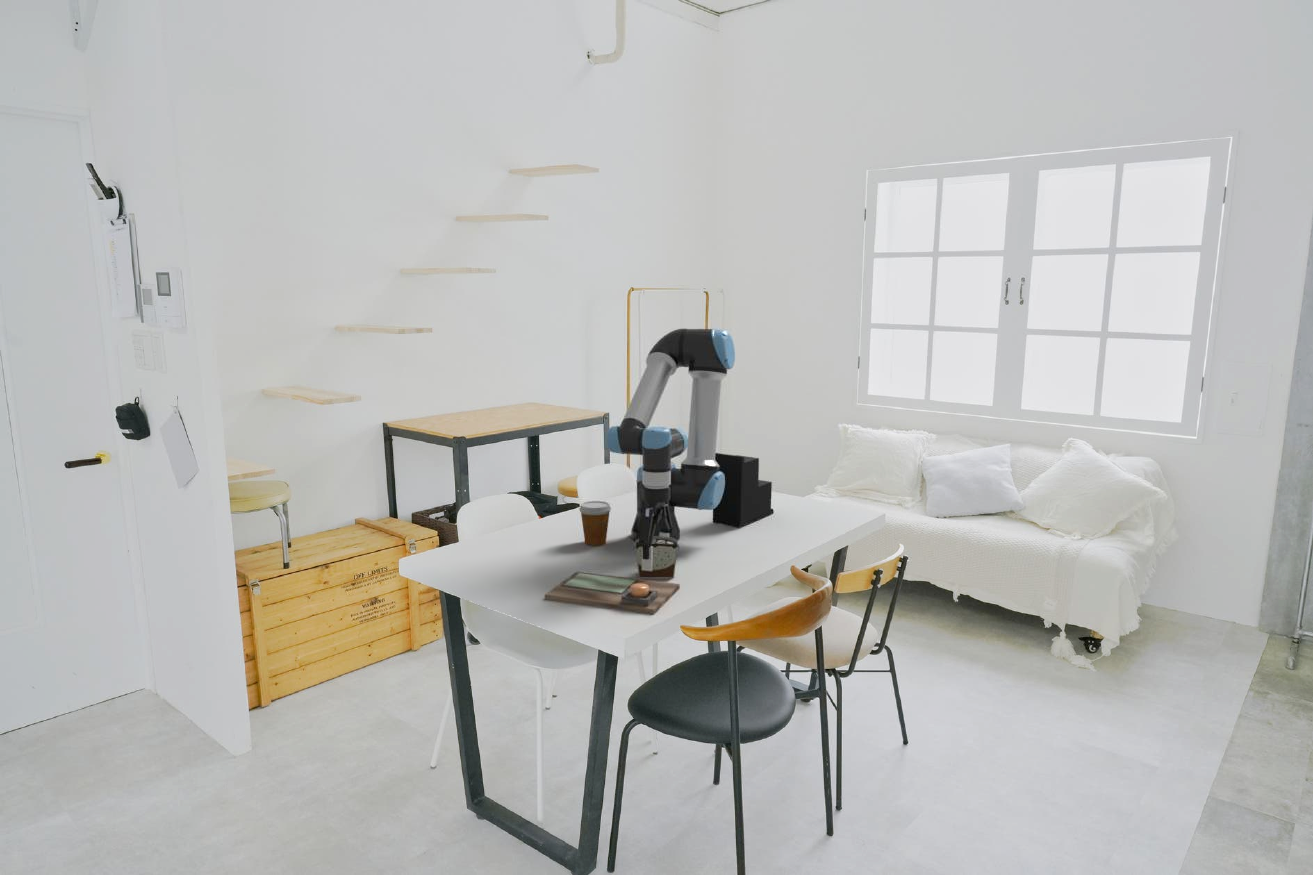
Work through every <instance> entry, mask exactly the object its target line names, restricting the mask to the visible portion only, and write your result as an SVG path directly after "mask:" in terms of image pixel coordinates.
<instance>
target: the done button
mask: <svg viewBox="0 0 1313 875" xmlns="http://www.w3.org/2000/svg"><path fill="white" fill-rule="evenodd" d="M648 595H649V586H648V585H647V584H642V583H637V584H633V585H631V596H633V597H646V596H648Z"/></svg>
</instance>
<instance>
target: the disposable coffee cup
mask: <svg viewBox="0 0 1313 875" xmlns="http://www.w3.org/2000/svg"><path fill="white" fill-rule="evenodd" d="M578 510H579V512H580V515H581V516H580V517H581V522H582V523H581V524H582V532H583V537H584V543H585V545H587V546H590V547H591V546H593V547H598V546H603V545H605V544H606V543H607V538H608V537H607V535H608V528H609V521H610V520H609V518H610V512H611V510H612V507H611V506H610V503H609V502H606V501H600V500H592V501H591V500H590V501H589V500H588V501H585V502H582V503H580V507H579V508H578Z"/></svg>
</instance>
